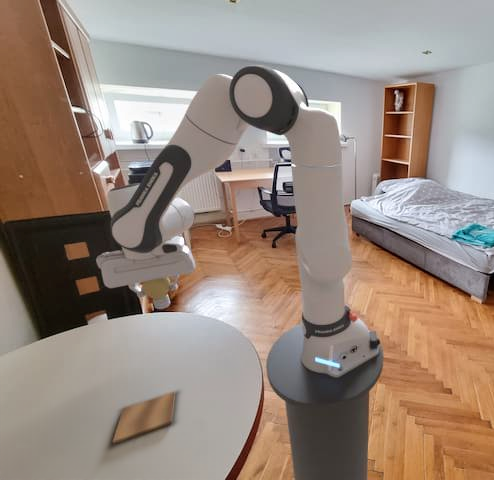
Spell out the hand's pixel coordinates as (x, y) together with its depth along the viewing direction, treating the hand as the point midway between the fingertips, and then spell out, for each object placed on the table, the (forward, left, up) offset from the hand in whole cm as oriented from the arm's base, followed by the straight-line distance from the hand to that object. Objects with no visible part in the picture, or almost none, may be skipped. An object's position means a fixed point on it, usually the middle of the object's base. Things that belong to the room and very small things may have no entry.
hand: (158, 292), depth 79 cm
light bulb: (0, 0, -5) cm, 5 cm away
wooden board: (+2, +26, -16) cm, 31 cm away
